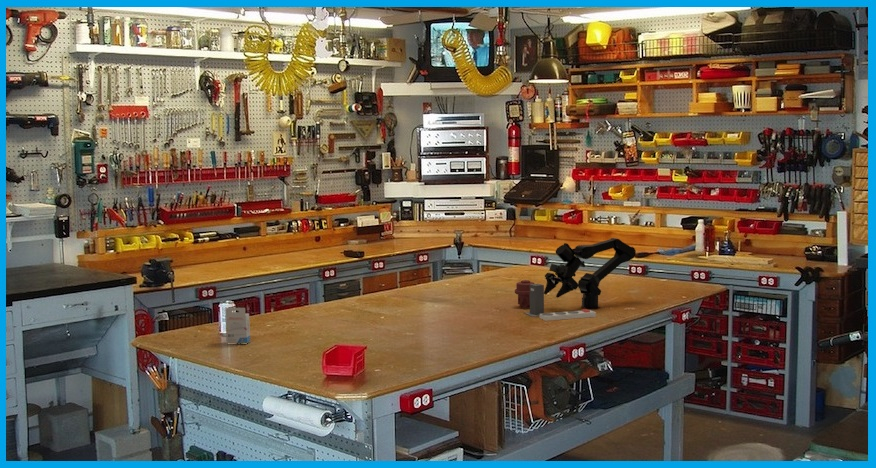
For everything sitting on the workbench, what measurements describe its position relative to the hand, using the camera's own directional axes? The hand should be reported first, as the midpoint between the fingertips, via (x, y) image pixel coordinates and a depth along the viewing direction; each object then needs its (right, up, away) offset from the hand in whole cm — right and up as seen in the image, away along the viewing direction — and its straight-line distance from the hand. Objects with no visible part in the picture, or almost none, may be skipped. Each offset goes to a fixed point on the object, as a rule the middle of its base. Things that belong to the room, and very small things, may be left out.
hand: (550, 295), depth 459 cm
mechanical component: (-10, -6, +15) cm, 19 cm away
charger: (-6, -8, -3) cm, 11 cm away
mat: (-6, -8, -3) cm, 11 cm away
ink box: (-129, -16, -52) cm, 140 cm away
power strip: (+6, -9, -10) cm, 15 cm away
